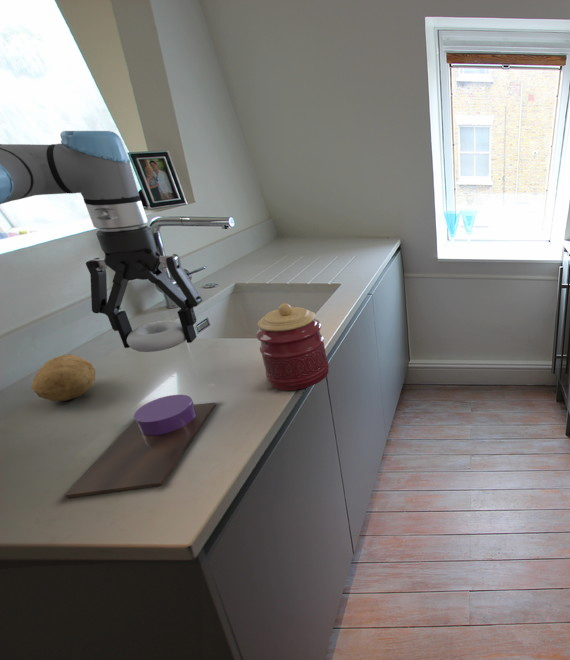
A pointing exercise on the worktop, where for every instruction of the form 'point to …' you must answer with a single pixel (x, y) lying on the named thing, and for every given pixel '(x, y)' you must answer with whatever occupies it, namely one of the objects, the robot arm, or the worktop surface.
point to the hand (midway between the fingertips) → (161, 342)
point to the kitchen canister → (292, 348)
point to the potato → (64, 378)
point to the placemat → (139, 458)
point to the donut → (156, 336)
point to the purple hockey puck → (165, 414)
